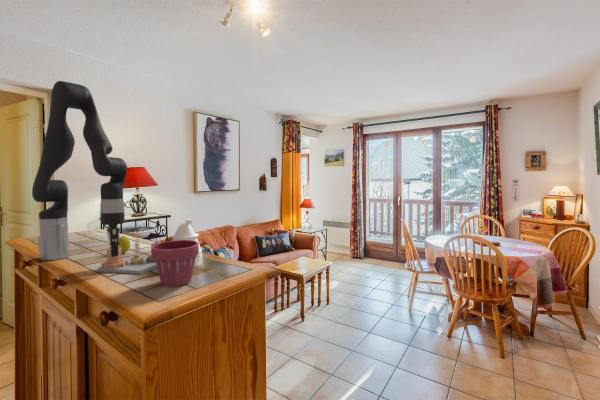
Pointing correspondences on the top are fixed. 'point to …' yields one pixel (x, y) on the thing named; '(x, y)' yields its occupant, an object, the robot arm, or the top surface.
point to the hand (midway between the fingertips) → (114, 253)
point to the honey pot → (188, 238)
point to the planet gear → (114, 260)
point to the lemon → (124, 244)
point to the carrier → (135, 264)
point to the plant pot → (175, 261)
